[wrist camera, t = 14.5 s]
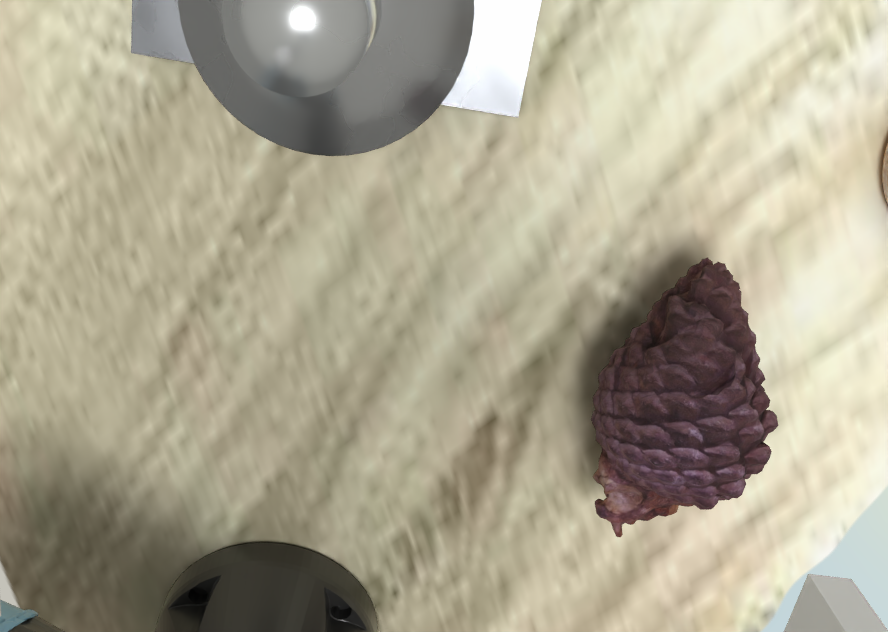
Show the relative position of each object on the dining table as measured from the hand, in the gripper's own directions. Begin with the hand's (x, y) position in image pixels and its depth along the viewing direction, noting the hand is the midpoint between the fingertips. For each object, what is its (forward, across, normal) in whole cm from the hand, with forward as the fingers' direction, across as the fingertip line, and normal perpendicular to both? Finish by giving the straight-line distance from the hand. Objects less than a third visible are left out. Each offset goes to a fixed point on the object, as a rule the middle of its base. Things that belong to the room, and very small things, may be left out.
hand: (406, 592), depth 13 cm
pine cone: (+35, -17, +11) cm, 40 cm away
